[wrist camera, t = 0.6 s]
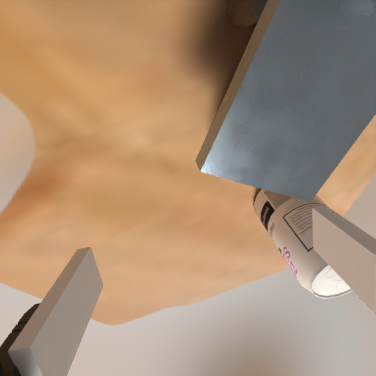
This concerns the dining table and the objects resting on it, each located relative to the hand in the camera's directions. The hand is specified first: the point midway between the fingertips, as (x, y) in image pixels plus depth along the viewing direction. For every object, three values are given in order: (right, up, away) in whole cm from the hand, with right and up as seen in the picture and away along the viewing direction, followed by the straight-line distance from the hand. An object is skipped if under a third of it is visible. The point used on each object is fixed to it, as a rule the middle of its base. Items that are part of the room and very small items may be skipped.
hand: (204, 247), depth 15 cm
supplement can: (+13, +2, +25) cm, 28 cm away
